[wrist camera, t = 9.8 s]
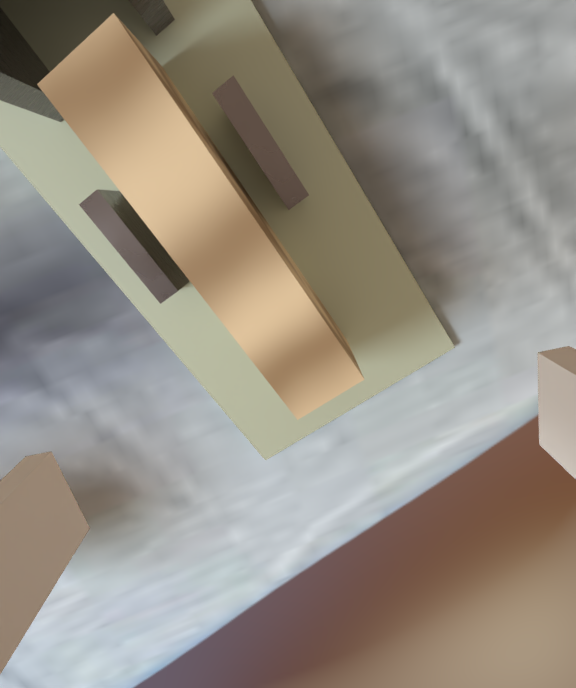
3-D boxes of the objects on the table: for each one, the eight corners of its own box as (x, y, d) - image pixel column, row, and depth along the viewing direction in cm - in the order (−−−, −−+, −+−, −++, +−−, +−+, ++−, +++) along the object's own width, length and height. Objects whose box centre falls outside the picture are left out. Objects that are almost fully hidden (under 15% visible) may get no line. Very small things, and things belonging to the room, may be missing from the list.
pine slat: (104, 116, 21) (37, 84, 15) (161, 66, 20) (113, 12, 15) (295, 372, 26) (297, 419, 20) (347, 340, 25) (364, 379, 20)
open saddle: (109, 204, 22) (78, 204, 19) (241, 95, 21) (233, 75, 17) (177, 290, 24) (160, 303, 21) (305, 196, 22) (309, 194, 19)
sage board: (-110, 11, 20) (-118, 7, 19) (112, -233, 17) (108, -243, 17) (265, 456, 29) (265, 460, 28) (452, 345, 26) (454, 347, 25)
